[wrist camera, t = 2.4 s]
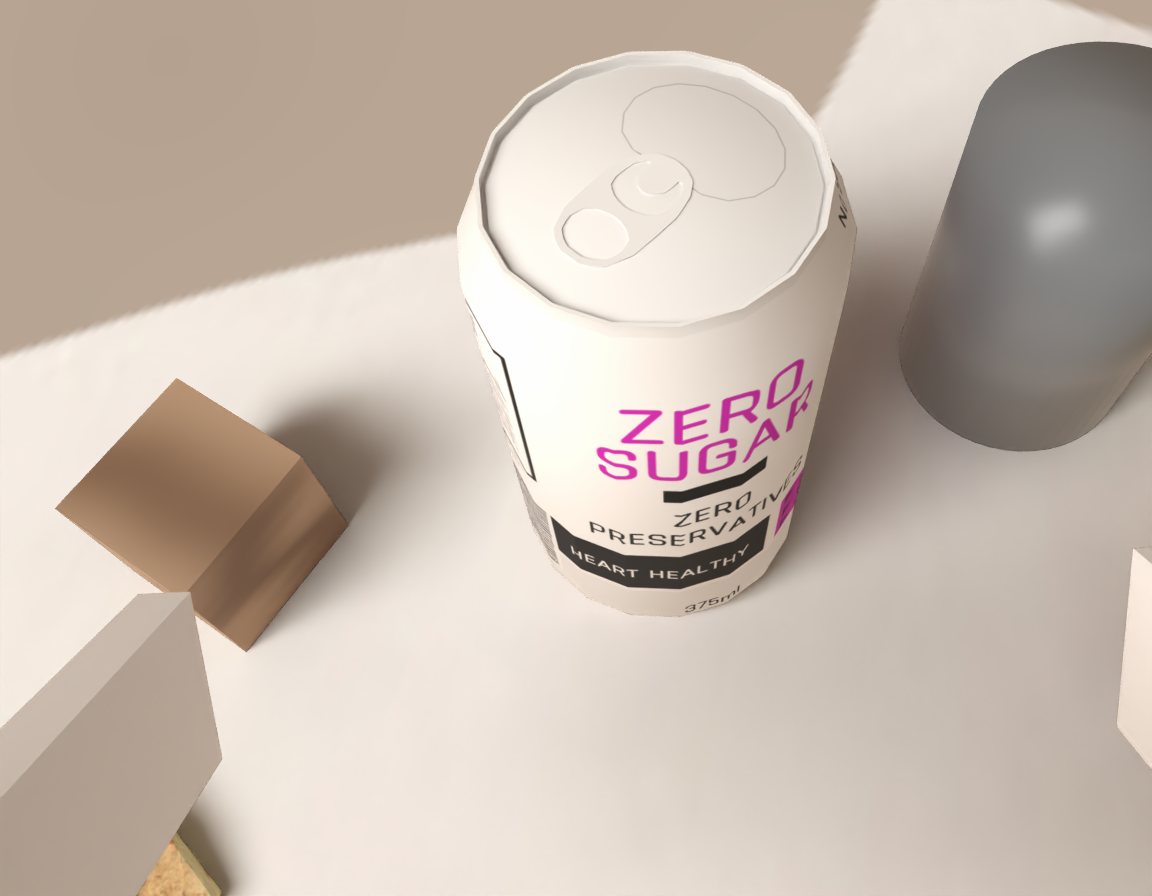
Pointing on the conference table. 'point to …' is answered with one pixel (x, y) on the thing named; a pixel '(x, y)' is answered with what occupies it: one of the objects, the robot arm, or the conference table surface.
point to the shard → (178, 874)
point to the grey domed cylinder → (1041, 254)
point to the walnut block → (208, 511)
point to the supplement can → (657, 318)
